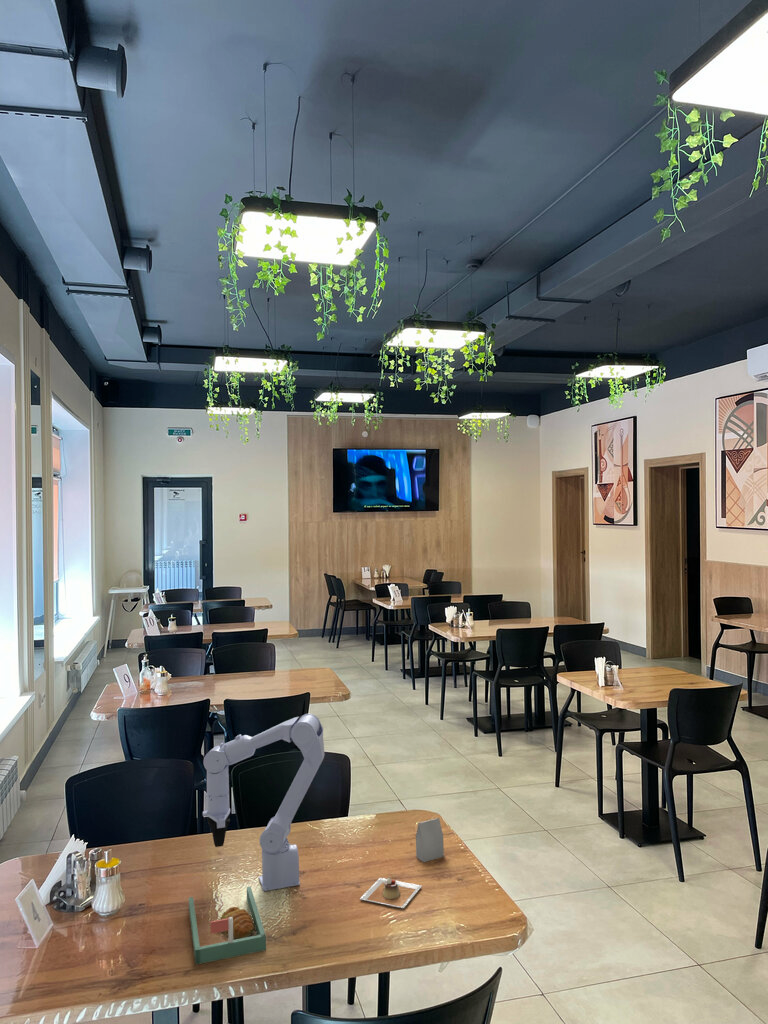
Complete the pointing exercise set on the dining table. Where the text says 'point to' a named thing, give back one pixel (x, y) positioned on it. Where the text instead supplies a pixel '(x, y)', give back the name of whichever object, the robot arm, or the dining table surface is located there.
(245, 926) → the pastry
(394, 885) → the dessert
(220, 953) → the putting corral
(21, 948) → the dining table surface
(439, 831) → the grey tall block
